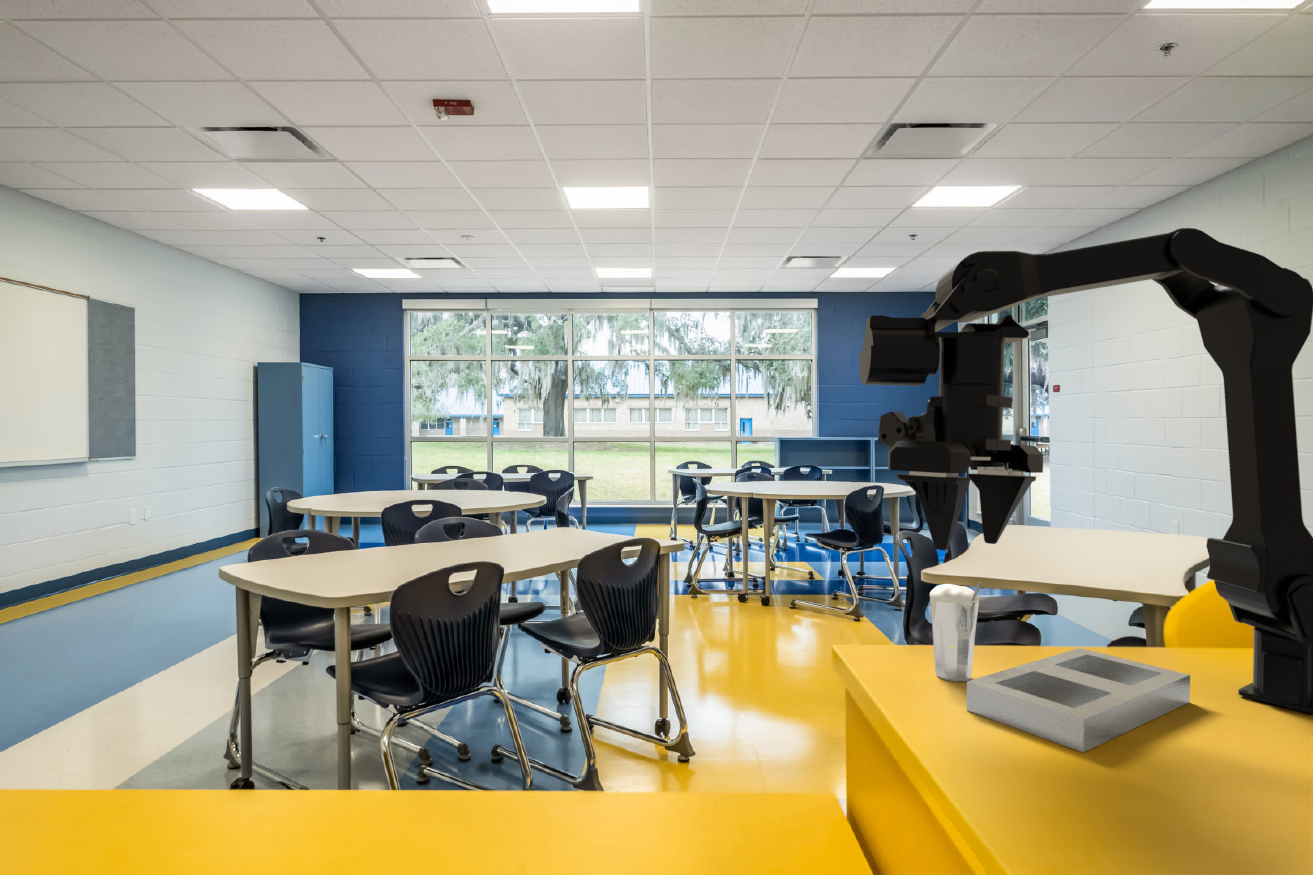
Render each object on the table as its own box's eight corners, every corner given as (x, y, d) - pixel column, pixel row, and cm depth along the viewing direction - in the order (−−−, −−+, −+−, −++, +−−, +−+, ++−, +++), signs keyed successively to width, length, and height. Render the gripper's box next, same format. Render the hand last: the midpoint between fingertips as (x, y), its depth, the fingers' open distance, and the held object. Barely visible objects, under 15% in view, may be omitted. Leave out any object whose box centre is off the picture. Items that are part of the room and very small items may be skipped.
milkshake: (961, 689, 65) (963, 583, 65) (918, 672, 70) (920, 573, 70) (995, 683, 67) (997, 580, 67) (951, 666, 72) (953, 571, 72)
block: (1079, 672, 71) (1079, 647, 71) (1189, 702, 63) (1190, 674, 63) (966, 710, 60) (967, 681, 60) (1083, 752, 52) (1083, 719, 52)
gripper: (945, 396, 79) (941, 531, 79) (842, 384, 68) (838, 541, 68) (1047, 392, 70) (1043, 544, 70) (949, 377, 59) (944, 559, 59)
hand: (966, 546), depth 67 cm, fingers open, 9 cm apart
